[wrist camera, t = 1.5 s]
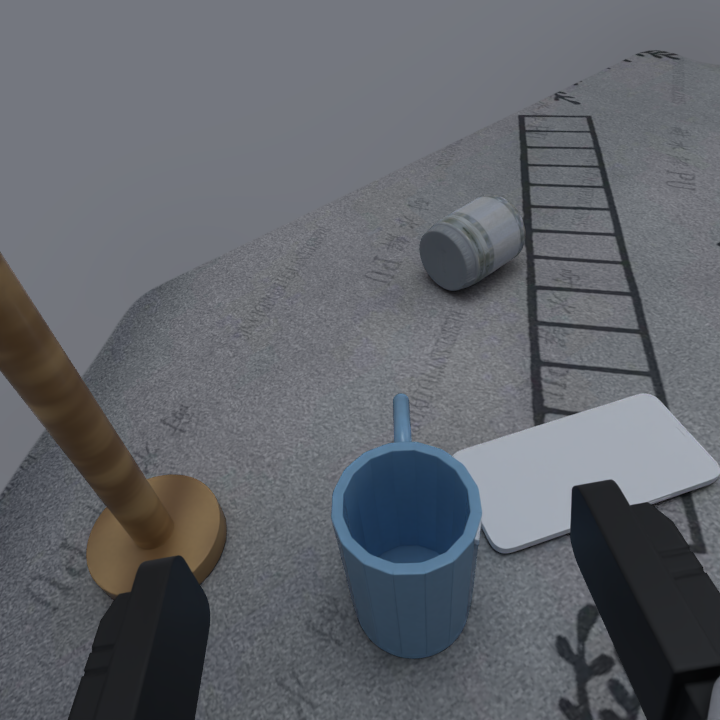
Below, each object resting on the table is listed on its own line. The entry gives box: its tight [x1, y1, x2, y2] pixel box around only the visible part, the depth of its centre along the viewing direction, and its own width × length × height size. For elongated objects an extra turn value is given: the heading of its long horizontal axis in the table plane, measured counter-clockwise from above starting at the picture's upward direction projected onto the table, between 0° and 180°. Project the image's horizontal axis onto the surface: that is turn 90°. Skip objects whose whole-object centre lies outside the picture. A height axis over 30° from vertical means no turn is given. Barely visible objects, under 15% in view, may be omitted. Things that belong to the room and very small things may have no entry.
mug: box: [331, 393, 482, 659], centre depth 29 cm, size 11×6×10 cm, turn 179°
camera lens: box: [419, 195, 525, 291], centre depth 49 cm, size 6×6×8 cm
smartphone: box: [453, 394, 720, 553], centre depth 36 cm, size 7×1×15 cm
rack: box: [0, 252, 226, 600], centre depth 20 cm, size 14×8×42 cm, turn 89°
